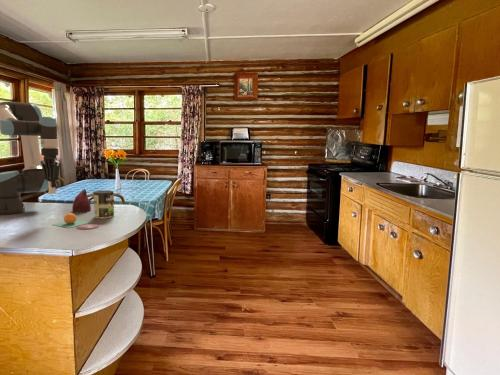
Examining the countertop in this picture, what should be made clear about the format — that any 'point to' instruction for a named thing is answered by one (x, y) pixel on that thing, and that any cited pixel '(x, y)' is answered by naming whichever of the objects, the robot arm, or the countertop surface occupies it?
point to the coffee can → (103, 204)
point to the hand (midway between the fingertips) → (52, 193)
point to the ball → (70, 218)
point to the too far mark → (87, 226)
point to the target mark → (76, 223)
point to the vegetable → (81, 203)
